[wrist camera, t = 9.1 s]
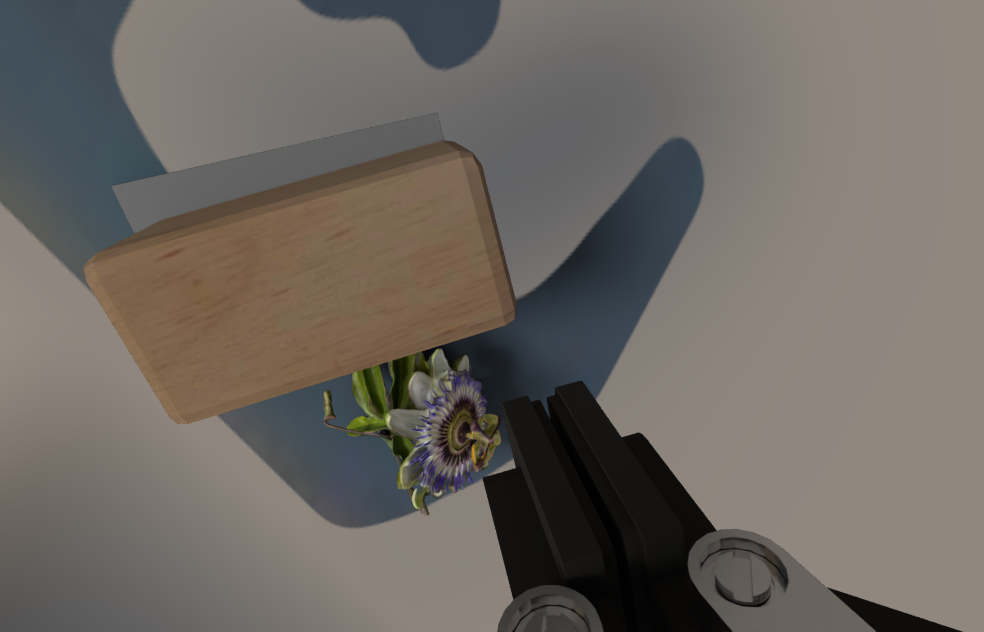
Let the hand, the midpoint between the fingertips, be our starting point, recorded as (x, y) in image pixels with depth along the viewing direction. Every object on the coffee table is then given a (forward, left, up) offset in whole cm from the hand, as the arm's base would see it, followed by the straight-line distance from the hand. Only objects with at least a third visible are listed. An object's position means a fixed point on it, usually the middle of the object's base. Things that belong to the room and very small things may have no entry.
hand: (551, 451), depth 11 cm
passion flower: (+14, -5, -29) cm, 32 cm away
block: (+1, +3, -23) cm, 23 cm away
